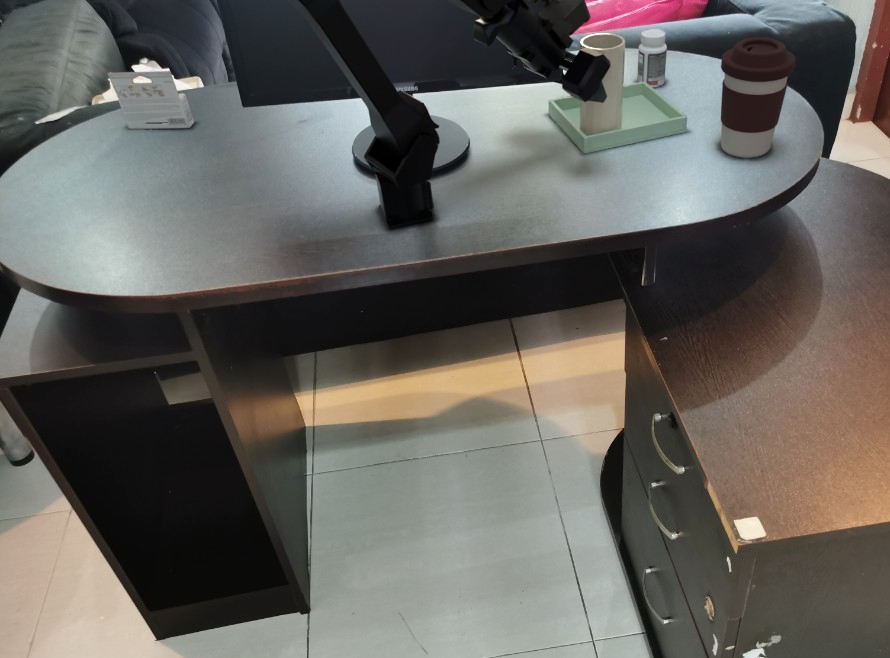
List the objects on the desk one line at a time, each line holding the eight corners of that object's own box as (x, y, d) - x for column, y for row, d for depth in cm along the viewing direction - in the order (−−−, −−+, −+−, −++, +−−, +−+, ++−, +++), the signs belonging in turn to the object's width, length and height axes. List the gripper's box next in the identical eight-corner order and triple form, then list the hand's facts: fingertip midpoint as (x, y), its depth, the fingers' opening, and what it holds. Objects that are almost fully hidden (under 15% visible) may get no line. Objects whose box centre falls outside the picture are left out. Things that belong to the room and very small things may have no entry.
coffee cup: (793, 152, 122) (813, 49, 112) (738, 169, 120) (754, 65, 109) (750, 127, 129) (765, 27, 119) (698, 143, 126) (708, 42, 116)
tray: (584, 153, 126) (584, 138, 124) (548, 114, 136) (548, 100, 135) (686, 132, 129) (687, 116, 127) (643, 95, 140) (644, 81, 138)
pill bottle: (669, 80, 144) (672, 30, 138) (657, 90, 141) (660, 39, 136) (644, 75, 146) (647, 26, 140) (632, 85, 143) (634, 35, 138)
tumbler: (606, 146, 126) (609, 52, 117) (571, 136, 129) (571, 44, 120) (628, 130, 130) (633, 38, 120) (594, 121, 133) (596, 30, 123)
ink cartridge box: (134, 123, 143) (112, 66, 136) (195, 122, 142) (176, 65, 135) (128, 130, 141) (105, 72, 134) (190, 129, 140) (171, 71, 133)
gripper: (602, -9, 104) (659, 58, 116) (512, -39, 115) (573, 25, 127) (553, 71, 106) (614, 128, 118) (470, 34, 117) (534, 90, 129)
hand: (584, 90), depth 123 cm, fingers open, 9 cm apart
